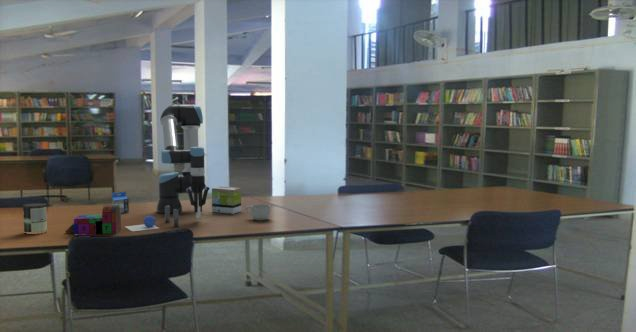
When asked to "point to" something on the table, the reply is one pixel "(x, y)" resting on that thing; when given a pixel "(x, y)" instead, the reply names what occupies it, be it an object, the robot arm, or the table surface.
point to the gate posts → (175, 215)
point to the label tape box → (121, 201)
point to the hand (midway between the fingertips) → (198, 217)
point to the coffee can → (35, 217)
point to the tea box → (226, 200)
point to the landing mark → (140, 227)
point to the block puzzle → (98, 221)
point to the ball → (149, 221)
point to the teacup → (259, 211)
